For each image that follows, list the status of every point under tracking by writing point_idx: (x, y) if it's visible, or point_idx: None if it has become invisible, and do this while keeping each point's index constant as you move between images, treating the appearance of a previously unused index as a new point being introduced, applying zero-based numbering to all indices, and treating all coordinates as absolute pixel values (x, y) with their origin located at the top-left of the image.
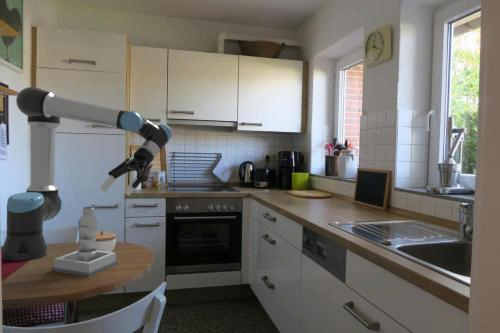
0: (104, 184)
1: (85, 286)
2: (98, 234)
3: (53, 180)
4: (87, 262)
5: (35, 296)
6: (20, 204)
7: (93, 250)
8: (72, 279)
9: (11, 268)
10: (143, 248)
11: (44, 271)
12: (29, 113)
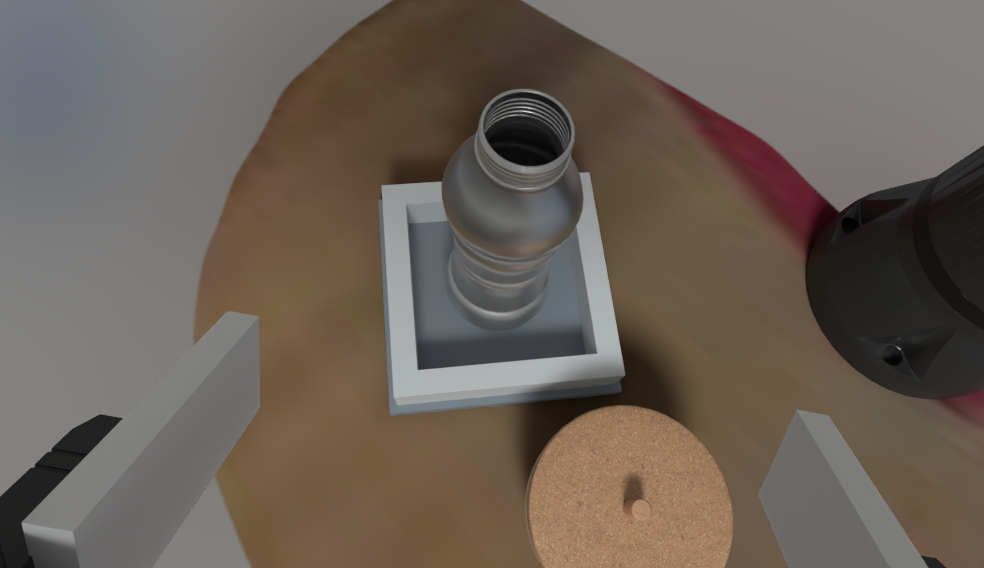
0: (823, 461)
1: (311, 124)
2: (663, 505)
3: None
4: (404, 197)
5: (401, 4)
6: None
7: (451, 265)
8: (417, 156)
9: (748, 146)
10: None
11: (601, 175)
12: None
